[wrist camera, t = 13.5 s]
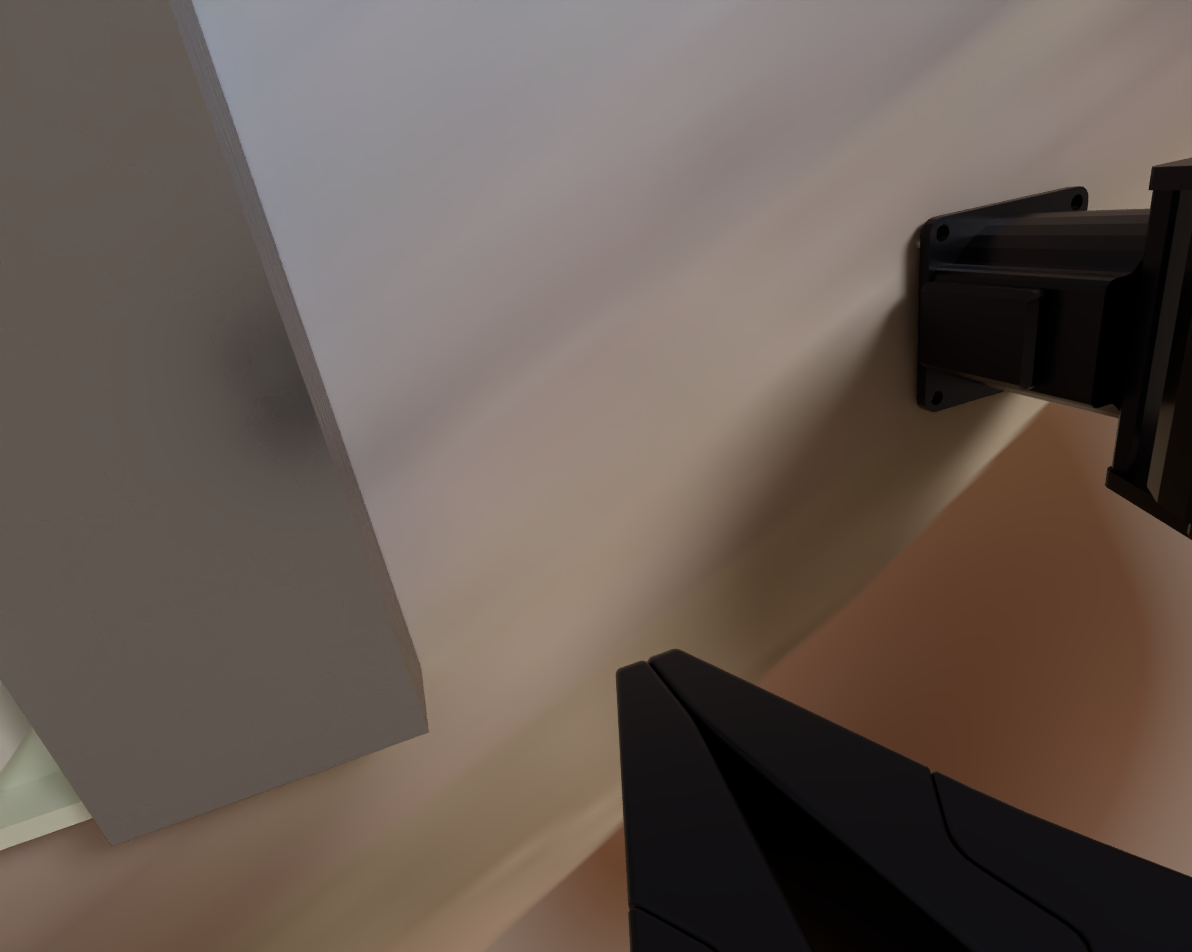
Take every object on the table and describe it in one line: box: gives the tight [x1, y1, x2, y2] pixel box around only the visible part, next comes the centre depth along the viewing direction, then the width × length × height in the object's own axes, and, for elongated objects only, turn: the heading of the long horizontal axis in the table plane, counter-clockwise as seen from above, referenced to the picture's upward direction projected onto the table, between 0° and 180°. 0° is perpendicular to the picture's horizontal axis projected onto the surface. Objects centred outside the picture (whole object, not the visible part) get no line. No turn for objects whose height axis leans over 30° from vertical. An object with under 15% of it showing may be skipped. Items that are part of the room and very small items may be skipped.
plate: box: [0, 0, 429, 846], centre depth 15 cm, size 8×18×3 cm, turn 11°
